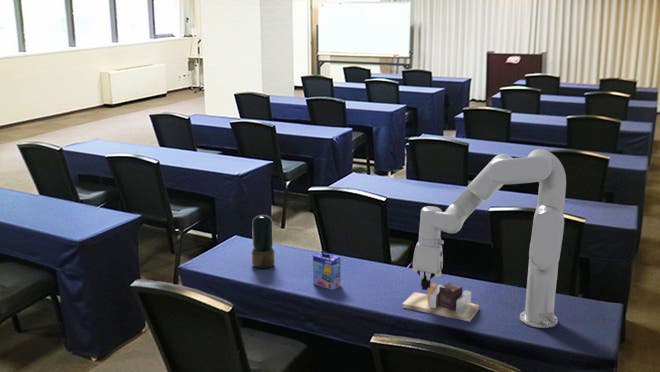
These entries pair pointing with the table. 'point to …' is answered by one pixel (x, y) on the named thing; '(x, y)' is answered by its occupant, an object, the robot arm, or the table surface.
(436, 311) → the vise base
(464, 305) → the fixed jaw
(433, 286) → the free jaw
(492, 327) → the table surface
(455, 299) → the box
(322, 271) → the ink cartridge box
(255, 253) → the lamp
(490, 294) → the table surface
